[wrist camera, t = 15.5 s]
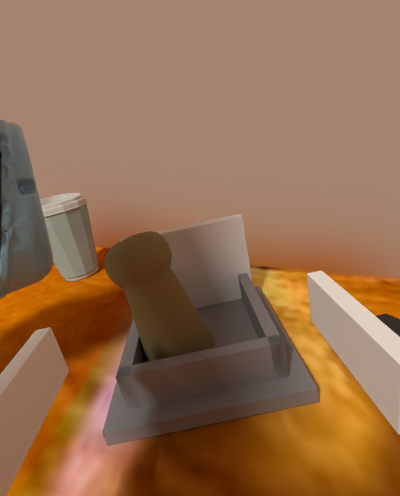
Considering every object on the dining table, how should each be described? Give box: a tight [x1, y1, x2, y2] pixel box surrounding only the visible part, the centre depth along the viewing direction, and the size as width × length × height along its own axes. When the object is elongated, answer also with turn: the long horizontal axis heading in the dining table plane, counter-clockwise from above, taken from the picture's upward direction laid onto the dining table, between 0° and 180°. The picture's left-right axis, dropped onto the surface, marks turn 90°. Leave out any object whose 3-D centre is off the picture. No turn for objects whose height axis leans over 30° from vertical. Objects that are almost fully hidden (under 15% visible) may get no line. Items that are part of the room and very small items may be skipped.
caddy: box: [103, 214, 319, 446], centre depth 26 cm, size 16×15×10 cm
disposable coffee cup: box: [40, 193, 99, 281], centre depth 54 cm, size 11×11×15 cm
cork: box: [104, 232, 215, 362], centre depth 24 cm, size 6×6×11 cm
